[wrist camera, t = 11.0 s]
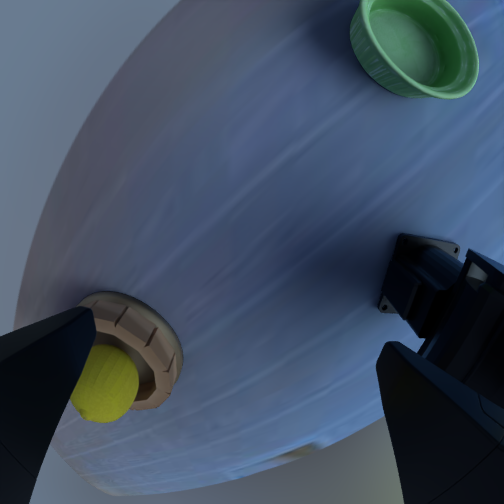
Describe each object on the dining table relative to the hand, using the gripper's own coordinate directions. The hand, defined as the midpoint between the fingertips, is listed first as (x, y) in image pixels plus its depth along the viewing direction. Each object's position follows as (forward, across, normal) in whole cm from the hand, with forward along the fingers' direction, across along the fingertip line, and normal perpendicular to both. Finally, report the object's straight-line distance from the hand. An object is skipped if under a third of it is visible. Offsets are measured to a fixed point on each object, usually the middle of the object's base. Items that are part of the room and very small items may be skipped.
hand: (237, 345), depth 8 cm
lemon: (+11, +10, +12) cm, 19 cm away
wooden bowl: (+12, +10, +12) cm, 20 cm away
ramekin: (+12, -9, -15) cm, 21 cm away
